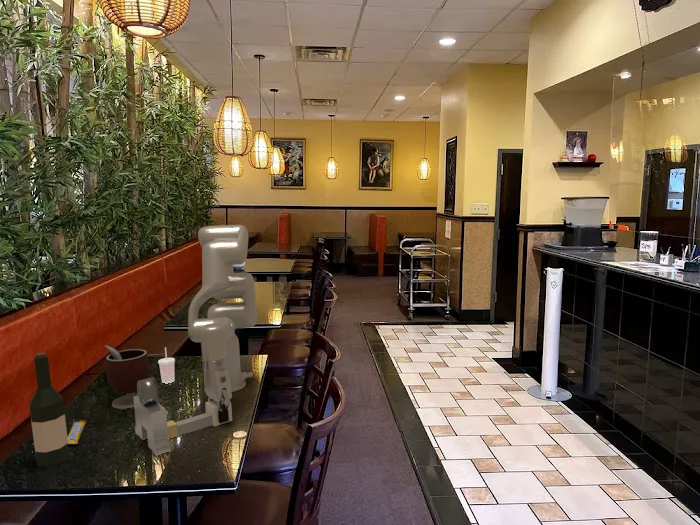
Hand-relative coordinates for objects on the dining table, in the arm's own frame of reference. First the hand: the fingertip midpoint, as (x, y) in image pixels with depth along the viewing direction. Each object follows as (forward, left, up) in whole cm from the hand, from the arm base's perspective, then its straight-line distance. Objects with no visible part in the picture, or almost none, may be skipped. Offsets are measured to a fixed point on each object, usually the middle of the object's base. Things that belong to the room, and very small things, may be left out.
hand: (219, 418), depth 161 cm
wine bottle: (+45, -9, -1) cm, 46 cm away
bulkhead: (+21, 0, -1) cm, 21 cm away
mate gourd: (+17, -37, -1) cm, 41 cm away
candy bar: (+37, -22, -2) cm, 43 cm away
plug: (+8, 0, -1) cm, 8 cm away
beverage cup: (0, -46, -1) cm, 46 cm away
